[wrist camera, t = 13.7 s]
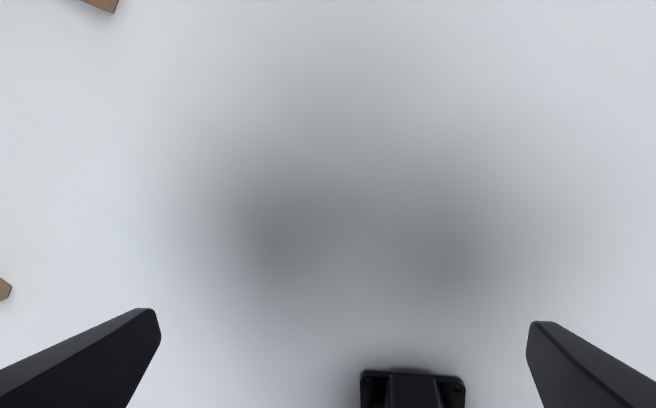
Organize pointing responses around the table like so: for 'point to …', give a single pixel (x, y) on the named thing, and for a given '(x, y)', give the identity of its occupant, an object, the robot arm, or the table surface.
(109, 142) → the table surface
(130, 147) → the table surface
